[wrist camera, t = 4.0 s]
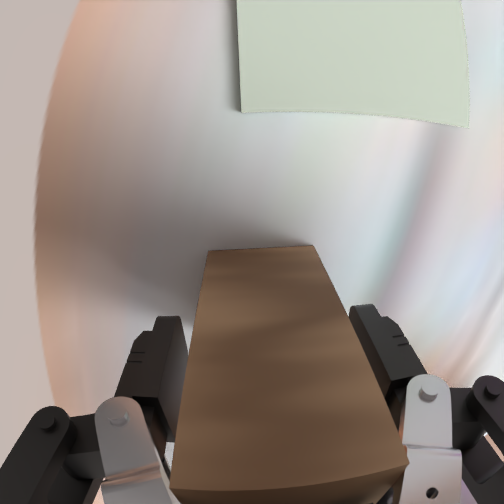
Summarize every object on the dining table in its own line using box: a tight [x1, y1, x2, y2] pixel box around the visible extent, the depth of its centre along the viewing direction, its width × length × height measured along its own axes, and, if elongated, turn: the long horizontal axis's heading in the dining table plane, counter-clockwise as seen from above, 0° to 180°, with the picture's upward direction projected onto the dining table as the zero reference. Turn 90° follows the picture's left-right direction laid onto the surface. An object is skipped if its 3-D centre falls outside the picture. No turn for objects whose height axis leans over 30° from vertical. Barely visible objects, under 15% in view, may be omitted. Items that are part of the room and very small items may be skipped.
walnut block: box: [169, 246, 410, 504], centre depth 9 cm, size 4×4×9 cm
